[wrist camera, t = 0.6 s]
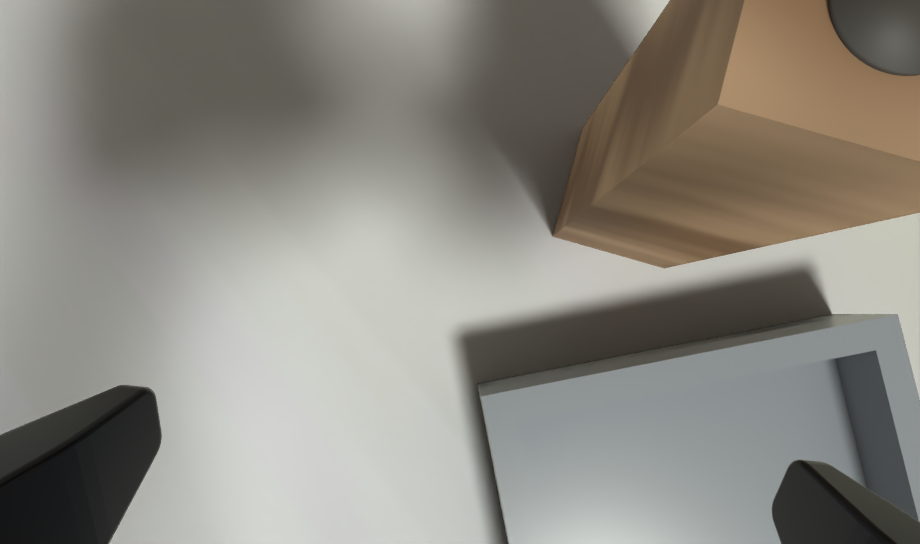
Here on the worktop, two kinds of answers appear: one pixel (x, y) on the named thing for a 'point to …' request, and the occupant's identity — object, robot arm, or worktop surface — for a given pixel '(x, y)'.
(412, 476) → the worktop surface
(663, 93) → the walnut block
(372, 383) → the worktop surface
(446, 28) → the worktop surface
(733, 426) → the tray
